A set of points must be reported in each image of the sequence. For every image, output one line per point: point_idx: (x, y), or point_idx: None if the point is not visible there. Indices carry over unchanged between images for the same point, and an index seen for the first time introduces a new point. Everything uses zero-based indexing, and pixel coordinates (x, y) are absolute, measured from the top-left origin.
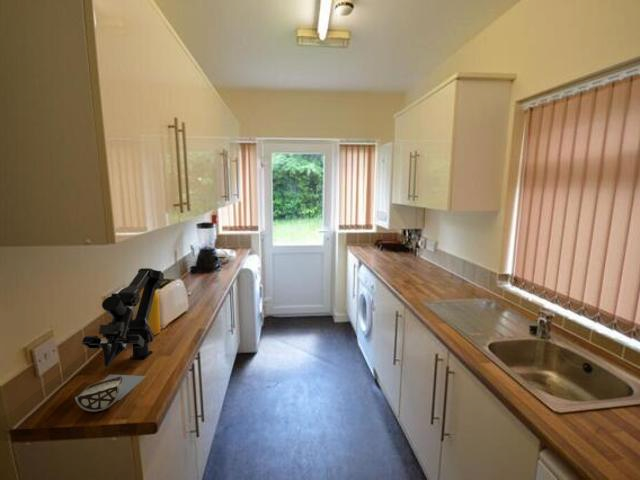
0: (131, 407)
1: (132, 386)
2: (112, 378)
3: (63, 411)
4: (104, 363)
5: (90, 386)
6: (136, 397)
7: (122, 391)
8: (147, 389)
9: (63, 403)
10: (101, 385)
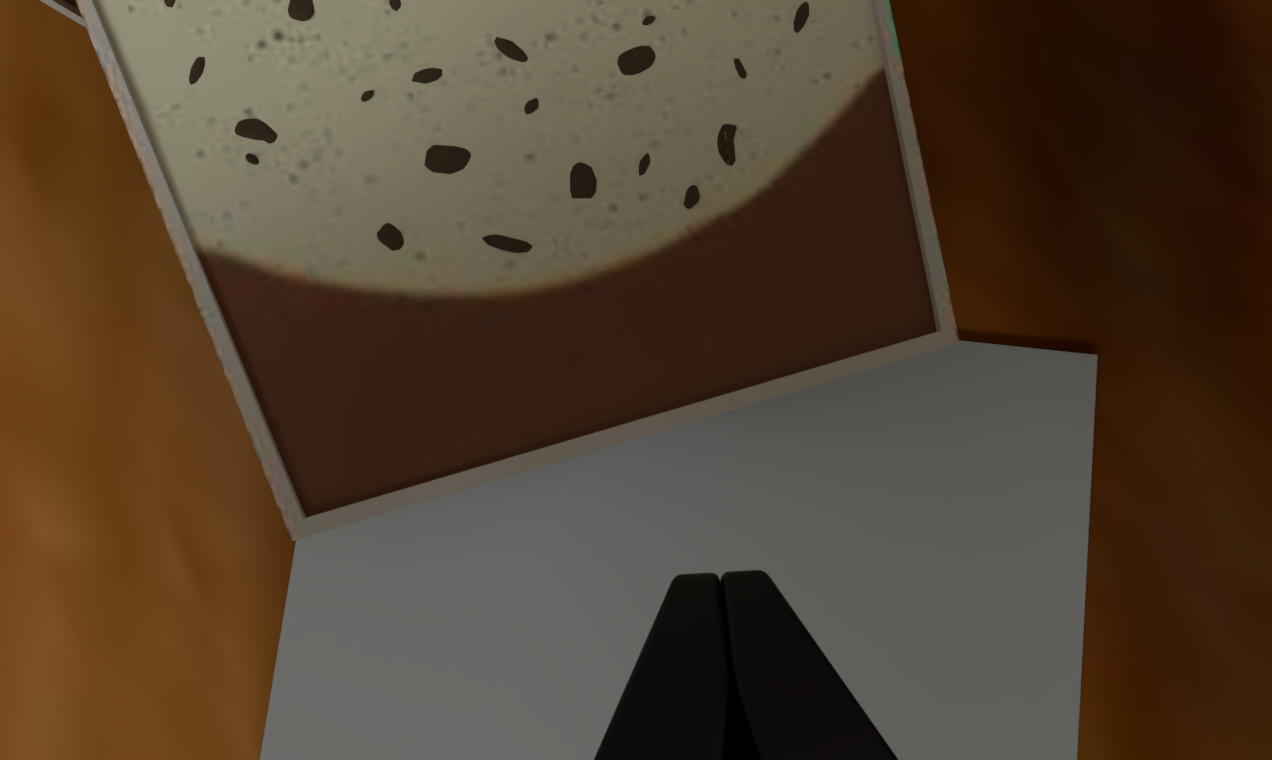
0: (70, 102)
1: (312, 719)
2: (507, 476)
3: (1072, 7)
4: (786, 609)
5: (882, 236)
6: (103, 371)
7: (418, 544)
8: (8, 624)
9: (1247, 214)
10: (586, 152)
